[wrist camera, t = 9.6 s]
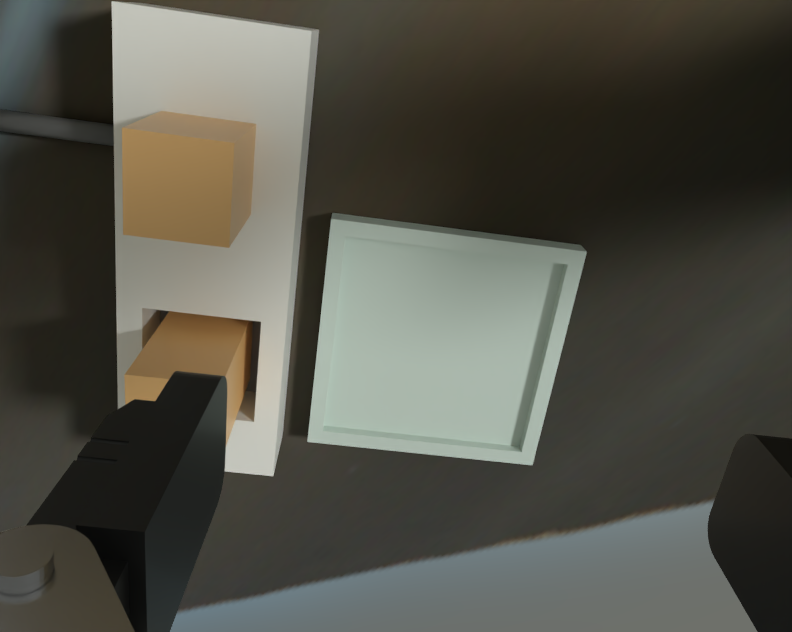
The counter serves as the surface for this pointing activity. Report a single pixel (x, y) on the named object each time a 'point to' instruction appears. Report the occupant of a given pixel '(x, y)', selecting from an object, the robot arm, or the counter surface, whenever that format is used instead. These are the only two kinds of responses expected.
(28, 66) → the counter surface
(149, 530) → the robot arm
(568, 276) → the tray
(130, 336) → the power strip
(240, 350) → the plug
